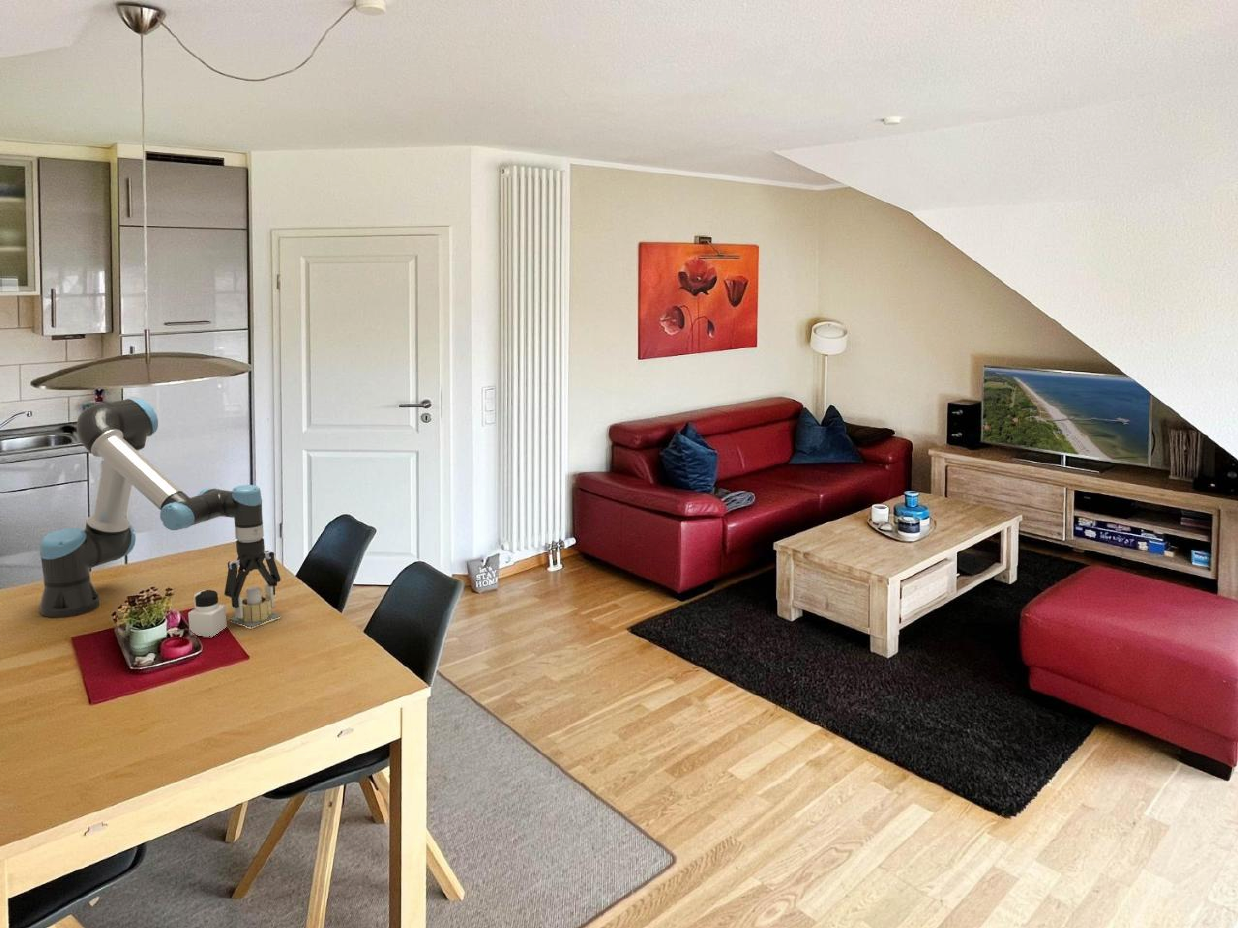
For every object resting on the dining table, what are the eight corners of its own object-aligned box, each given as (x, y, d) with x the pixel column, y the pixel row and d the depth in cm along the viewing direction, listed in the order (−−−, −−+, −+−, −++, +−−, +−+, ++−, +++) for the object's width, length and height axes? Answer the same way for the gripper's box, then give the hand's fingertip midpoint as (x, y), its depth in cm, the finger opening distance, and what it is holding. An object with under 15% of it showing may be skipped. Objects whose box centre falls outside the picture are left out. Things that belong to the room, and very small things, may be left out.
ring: (231, 618, 257) (230, 602, 256) (258, 608, 264) (257, 593, 263) (251, 625, 252) (249, 608, 251) (277, 615, 259) (276, 599, 258)
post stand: (229, 621, 257) (227, 590, 255) (259, 611, 265) (257, 581, 263) (251, 629, 251) (249, 598, 249) (280, 618, 260) (279, 588, 258)
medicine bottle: (227, 628, 252) (224, 588, 250) (213, 637, 245) (210, 597, 243) (203, 626, 253) (200, 587, 250) (189, 636, 246) (186, 595, 243)
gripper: (222, 550, 242) (228, 626, 246) (291, 532, 260) (295, 603, 265) (206, 545, 246) (212, 620, 250) (274, 527, 264) (279, 597, 269)
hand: (254, 611), depth 258 cm, fingers open, 10 cm apart
